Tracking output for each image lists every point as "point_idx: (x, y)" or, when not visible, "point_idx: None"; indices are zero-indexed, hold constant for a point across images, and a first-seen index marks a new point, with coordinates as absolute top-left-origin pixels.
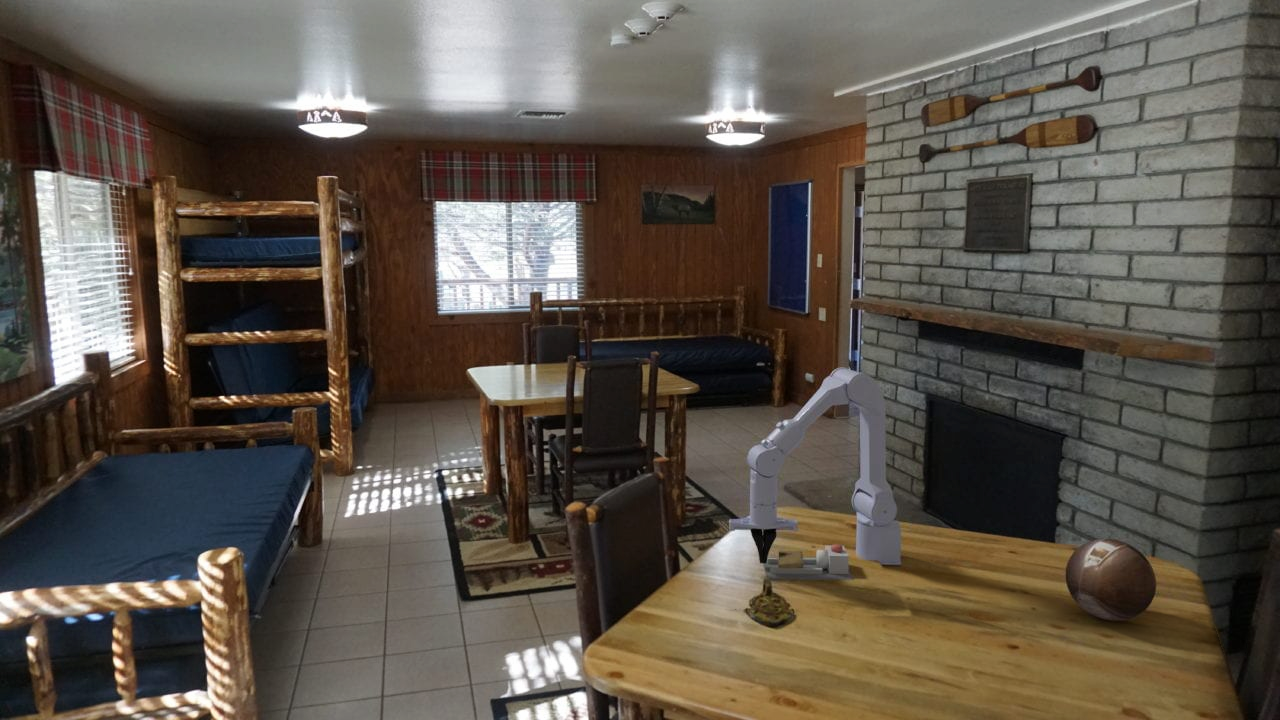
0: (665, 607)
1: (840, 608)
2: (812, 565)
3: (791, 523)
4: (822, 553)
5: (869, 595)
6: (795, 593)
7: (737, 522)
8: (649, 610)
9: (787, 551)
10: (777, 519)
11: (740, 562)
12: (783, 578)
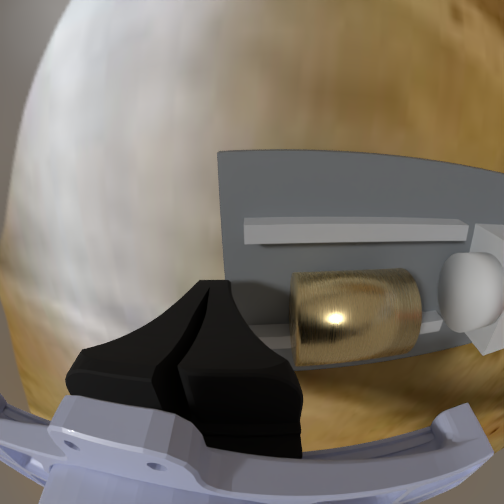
0: (52, 416)
1: (383, 430)
2: (433, 250)
3: (416, 500)
4: (479, 326)
5: (465, 375)
6: (312, 401)
7: (20, 472)
8: (39, 416)
9: (348, 348)
10: (349, 486)
11: (122, 172)
12: (293, 368)
